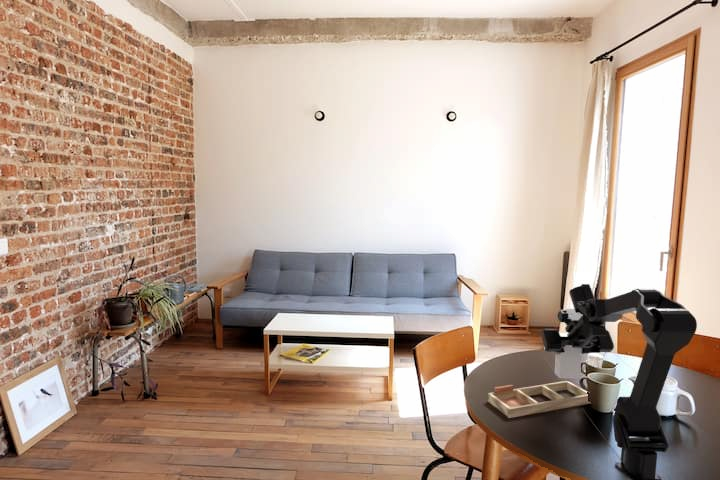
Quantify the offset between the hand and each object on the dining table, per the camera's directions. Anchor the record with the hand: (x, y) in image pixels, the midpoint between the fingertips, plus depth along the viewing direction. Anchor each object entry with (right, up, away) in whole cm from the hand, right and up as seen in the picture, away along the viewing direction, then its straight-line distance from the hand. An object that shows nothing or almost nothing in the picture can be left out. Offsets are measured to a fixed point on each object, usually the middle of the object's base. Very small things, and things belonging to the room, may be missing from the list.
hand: (566, 352), depth 134 cm
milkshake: (+15, -12, +12) cm, 23 cm away
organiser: (-9, -14, -3) cm, 17 cm away
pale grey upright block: (0, -7, -1) cm, 7 cm away
